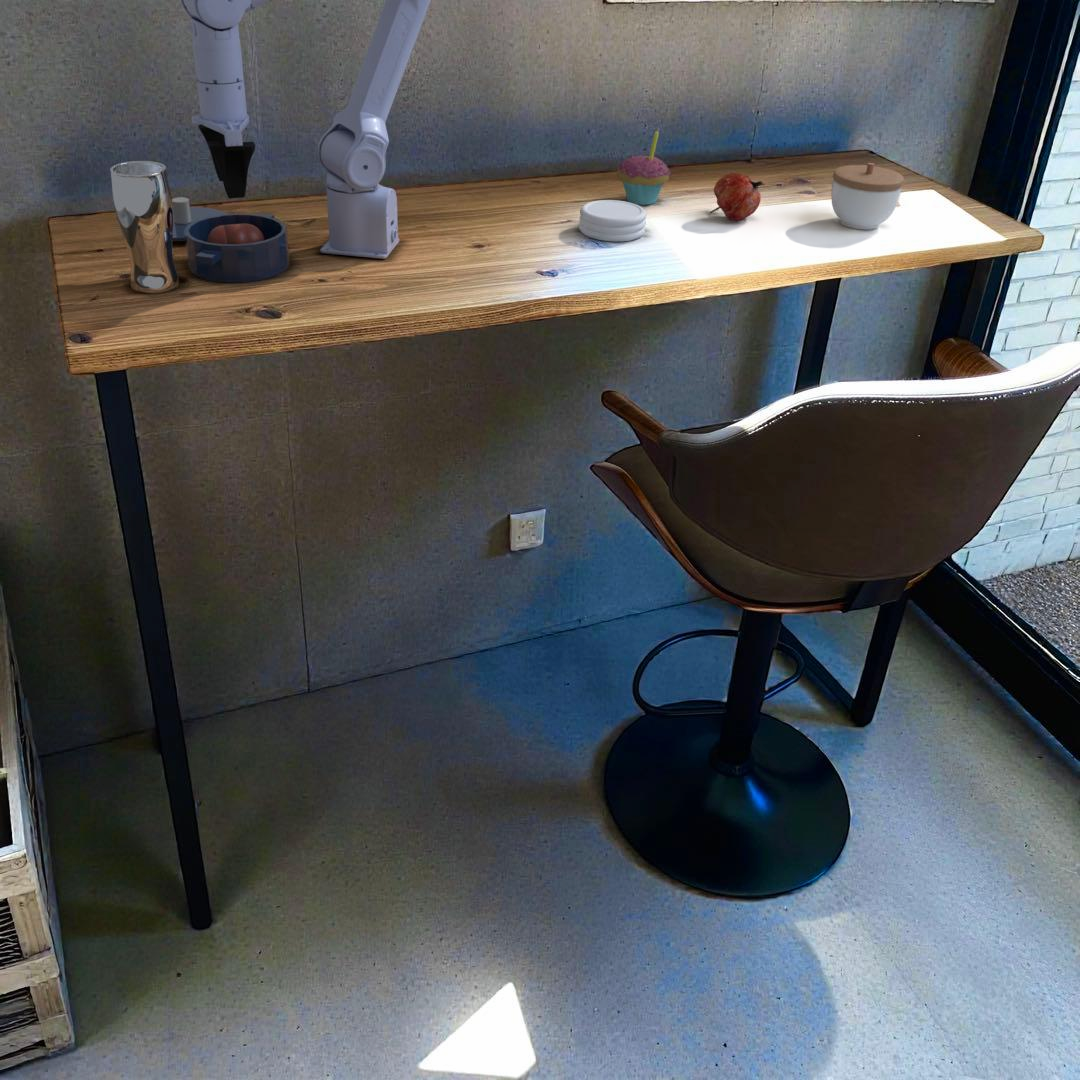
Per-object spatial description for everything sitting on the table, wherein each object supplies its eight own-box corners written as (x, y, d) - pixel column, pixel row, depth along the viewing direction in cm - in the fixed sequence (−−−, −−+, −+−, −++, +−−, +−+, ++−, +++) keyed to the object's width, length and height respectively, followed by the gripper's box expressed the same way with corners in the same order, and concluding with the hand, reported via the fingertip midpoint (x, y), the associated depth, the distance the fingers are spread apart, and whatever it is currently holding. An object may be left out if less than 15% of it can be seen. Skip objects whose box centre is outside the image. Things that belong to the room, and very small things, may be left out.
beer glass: (133, 275, 154) (115, 159, 145) (187, 275, 154) (172, 160, 146) (122, 294, 148) (102, 175, 140) (178, 295, 148) (162, 176, 140)
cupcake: (675, 199, 191) (683, 124, 185) (651, 212, 185) (658, 134, 179) (630, 189, 195) (636, 115, 189) (604, 201, 189) (610, 125, 182)
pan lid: (250, 220, 174) (247, 191, 172) (205, 250, 163) (201, 220, 160) (163, 209, 177) (159, 180, 174) (113, 238, 165) (108, 208, 163)
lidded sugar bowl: (842, 235, 179) (853, 174, 174) (814, 213, 188) (824, 154, 183) (905, 233, 182) (919, 173, 176) (875, 212, 190) (887, 153, 185)
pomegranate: (706, 235, 184) (756, 208, 177) (689, 191, 183) (739, 162, 176) (730, 230, 189) (781, 203, 182) (714, 187, 189) (764, 159, 182)
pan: (312, 249, 165) (309, 214, 162) (254, 295, 150) (250, 257, 147) (226, 238, 167) (222, 203, 164) (160, 282, 152) (155, 245, 149)
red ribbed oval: (264, 258, 161) (259, 222, 160) (269, 258, 157) (264, 221, 156) (208, 263, 159) (202, 226, 158) (211, 263, 154) (206, 226, 153)
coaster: (565, 230, 176) (566, 207, 174) (607, 217, 182) (609, 194, 180) (616, 247, 171) (617, 223, 169) (657, 233, 177) (660, 210, 175)
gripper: (180, 68, 149) (193, 174, 157) (195, 93, 138) (208, 207, 146) (236, 66, 152) (246, 171, 159) (255, 91, 141) (264, 203, 148)
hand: (231, 188), depth 153 cm, fingers open, 7 cm apart
